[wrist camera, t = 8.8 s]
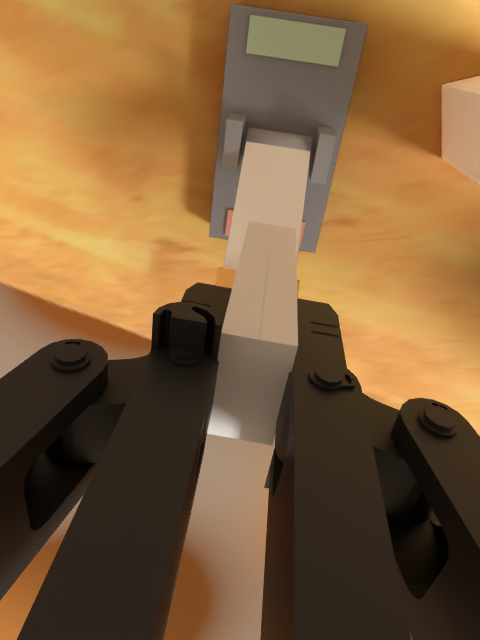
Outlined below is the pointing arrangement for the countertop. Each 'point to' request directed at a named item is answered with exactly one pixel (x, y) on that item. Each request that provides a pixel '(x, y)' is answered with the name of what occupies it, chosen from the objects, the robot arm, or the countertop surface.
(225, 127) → the switch plate
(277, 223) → the handle
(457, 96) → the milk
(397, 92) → the countertop surface
